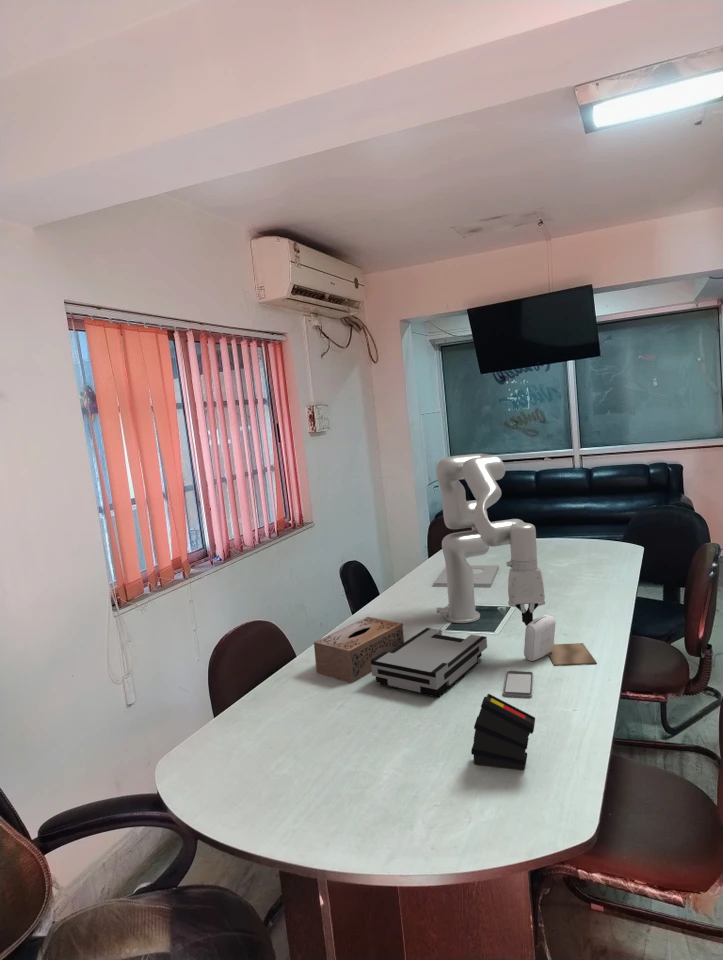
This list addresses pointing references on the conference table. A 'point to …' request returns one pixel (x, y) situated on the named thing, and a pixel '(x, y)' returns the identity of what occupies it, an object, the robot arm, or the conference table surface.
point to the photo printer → (539, 637)
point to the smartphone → (518, 684)
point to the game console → (428, 662)
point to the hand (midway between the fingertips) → (527, 624)
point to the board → (571, 654)
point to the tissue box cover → (356, 648)
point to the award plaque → (481, 576)
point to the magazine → (501, 735)
